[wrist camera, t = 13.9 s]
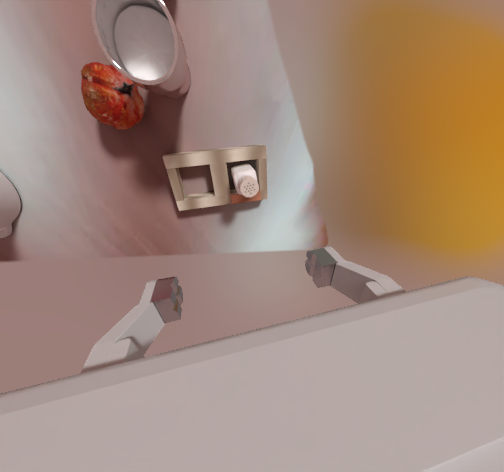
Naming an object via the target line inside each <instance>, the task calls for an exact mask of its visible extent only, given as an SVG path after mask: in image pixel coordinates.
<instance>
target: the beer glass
mask: <svg viewBox="0 0 504 472" xmlns="http://www.w3.org/2000/svg"><path fill="white" fill-rule="evenodd" d="M91 20H92V26H93V30H94V33H95V36H96V38H97V41H98V43H99V45H100V47H101V49H102V51H103V52H104V54H105V56H106V57H107V58H108V60H109V61H110V62H111V64H112V65H113V66H114V67H115V68H116V69H117V70H118V71H119V72H120V73H122V74H123V75H124V76H126V77H127V78H129V79H130V80H131V81H133V82H134V83H135V84H137V85H138V86H140V87H142V88H143V89H145V90H147V91H150V92H153V93H156V94H163V95H165V96H167V97H170V98H179V97H181V96H183V95H184V94H185V93H186V92H187V91H188V89H189V87H190V83H191V73H190V69H189V66H188V63H187V56H186V51H185V47H184V43H183V40H182V37H181V35H180V32H179V30H178V28H177V26H176V24H175V22H174V20H173V19H172V17H171V15H170V13H169V11H168V9H167V7H166V5H165V4H164V2H163V1H162V0H91Z"/></svg>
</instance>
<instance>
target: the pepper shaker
mask: <svg viewBox="0 0 504 472" xmlns="http://www.w3.org/2000/svg"><path fill="white" fill-rule="evenodd" d="M231 174H232V178H233V182H234V185H235V188H236V191H237V193H238V194H242V195H243V196H245V197H253V196H255V195H256V194H257V192H258V191H259V185H258V182H257V176H256V172H255V170H254V169H253V168H252V167H251V165H250V164H248V163H245V164H241V165H237V166H233V167H232V168H231Z"/></svg>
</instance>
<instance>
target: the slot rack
mask: <svg viewBox="0 0 504 472" xmlns="http://www.w3.org/2000/svg"><path fill="white" fill-rule="evenodd" d="M254 159H255V161H256V176H257V182H258V185H259V191H258V192H257V194H256V195H255V196H253V197H245V196H243V195H242V194H238V193H237V191H236V189H230V187H229V180H228V172H227V165H226V162H236V161H245V160H254ZM163 161H164V164H165V167H166V170H167V174H168V177H169V180H170V183H171V187H172V190H173V193H174V196H175V199H176V203H177V206H178V209H179V211H182V210H190V209H197V208H204V207H212V206H219V205H226V204H236V203H243V202H250V201H258V200H263V199H267V164H266V146H264V145H252V146H242V147H232V148H222V149H212V150H202V151H192V152H182V153H172V154H165V155H164V156H163ZM208 164H210V170H211V175H212V181H213V186H214V192H207V193H199V194H191V195H186V194H185V190H184V186H183V183H182V179H181V175H180V172H179V168H180V167H190V166H199V165H208Z"/></svg>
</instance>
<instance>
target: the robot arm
mask: <svg viewBox="0 0 504 472" xmlns="http://www.w3.org/2000/svg"><path fill="white" fill-rule="evenodd" d="M20 209H21V203H20V198H19V195H18V193H17V191H16V189H15V188H14V186H13V185H12V183H11V182H10V181H9V180H8V179H7V178H6V176H5V175H4V174H3V173H1V172H0V238H4V237H7V236H9V235H11V233H12V222H13V221H14V220H15V219H16V217H17V216H18V215H19V212H20ZM307 257H308V259H307V260H306V264H305V266H306V270H307V272H308V274H309V275H310V276H312V277H313V281H314V283H315V284H316V286H317V287H318V288H320V287H325V286H330V285H331V287H333V288H335V289H336V290H338V291H339V292H341V293H342V294H344V295H346V296H347V297H349V298H350V299H352V300H353V301H355V302H357V303H358V304H355V305H351V306H348V307H344V308H340V309H335V310H332V311H328V312H324V313H320V314H316V315H312V316H308V317H304V318H300V319H296V320H292V321H288V322H284V323H280V324H276V325H272V326H268V327H264V328H260V329H256V330H252V331H248V332H244V333H240V334H236V335H232V336H229V337H224V338H220V339H216V340H212V341H208V342H204V343H200V344H196V345H192V346H188V347H184V348H180V349H176V350H172V351H168V352H164V353H160V354H156V355H152V356H148V357H144V356H143V355H144V354H145V352H146V351H147V349H148V348H149V346H150V345H151V344H152V342H153V341H154V339H155V338H156V336H157V335H158V333H159V332H160V330H161V329H162V328H163V326H164V325H165V323H167V322H171V321H175V320H179V319H181V310H182V309H181V306H180V305H181V304H182V301H183V293H182V289H181V287H180V286H179V285H178V279H177V277H170V278H164V279H158V280H154V281H148V283H146V286H145V289H144V292H143V295H142V297H141V300H140V303H139V305H137V306H135V307H134V308H133V309H132V310H131V311H130V312H129V313H128V314H127V315H126V316H125V317H123V318H122V319H121V320H120V321H119V322H118V323H117V324H116V325H115V326H114V327H113V328H112V329H111V330H110V331H109V332H108V333H107V334H106V335H104V336H103V337H102V338H101V339H100V340H99V341H98V342H97V343H96V344H95V345H94V347H93V349H92V351H91V353H90V355H89V357H88V359H87V361H86V363H85V365H84V367H83V369H82V371H81V373H80V374H77V375H73V376H69V377H65V378H61V379H57V380H53V381H49V382H45V383H41V384H37V385H33V386H29V387H25V388H21V389H17V390H13V391H9V392H5V393H1V394H0V472H504V286H503V285H500V284H497V283H493V282H490V281H486V280H483V279H479V278H475V277H464V278H459V279H455V280H451V281H447V282H443V283H439V284H435V285H431V286H427V287H423V288H419V289H415V290H411V291H408V292H406V291H405V290H404V289H403V288H401V287H400V286H399V285H398V284H397V283H395V282H394V281H393V280H392V279H391V278H390V277H388V276H385V275H383V274H380V273H378V272H375V271H372V270H370V269H367V268H365V267H362V266H360V265H357V264H354V263H352V262H349V261H345V260H344V259H343V258H342V257H341V256H340V255H339V254H338V253H337V252H336V251H335V250H334V249H333V248H332V247H330V246H328V247H323V248H319V249H314V250H309V251H307Z"/></svg>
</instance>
